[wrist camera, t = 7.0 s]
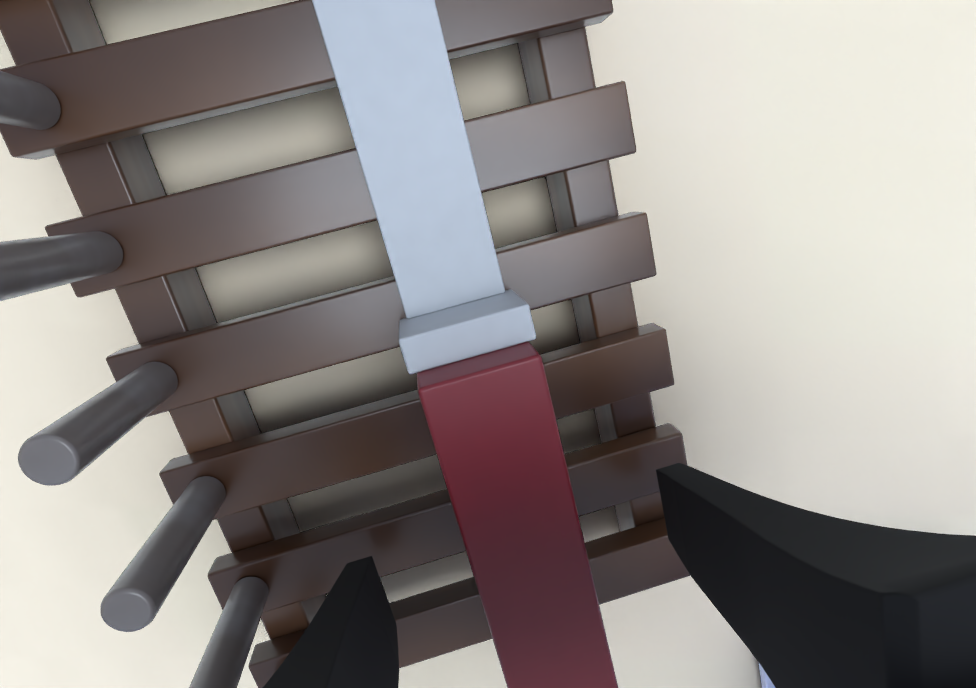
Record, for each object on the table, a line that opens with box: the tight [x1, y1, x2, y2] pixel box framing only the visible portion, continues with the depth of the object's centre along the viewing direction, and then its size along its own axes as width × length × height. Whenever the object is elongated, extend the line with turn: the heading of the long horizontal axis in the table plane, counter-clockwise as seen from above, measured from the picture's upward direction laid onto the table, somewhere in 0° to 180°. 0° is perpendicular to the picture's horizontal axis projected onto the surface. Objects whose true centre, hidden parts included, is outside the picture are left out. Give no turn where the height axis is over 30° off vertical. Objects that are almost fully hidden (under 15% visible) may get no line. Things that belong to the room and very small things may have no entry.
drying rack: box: [0, 0, 690, 688], centre depth 13 cm, size 20×13×7 cm, turn 14°
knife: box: [312, 0, 618, 688], centre depth 12 cm, size 23×3×3 cm, turn 14°
